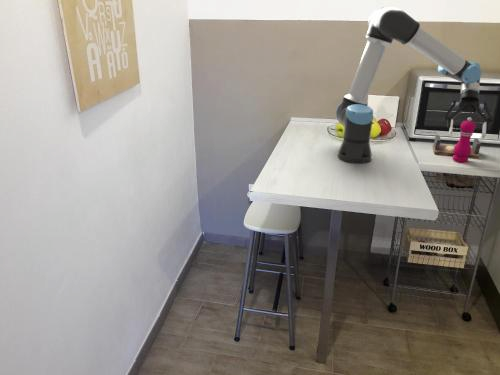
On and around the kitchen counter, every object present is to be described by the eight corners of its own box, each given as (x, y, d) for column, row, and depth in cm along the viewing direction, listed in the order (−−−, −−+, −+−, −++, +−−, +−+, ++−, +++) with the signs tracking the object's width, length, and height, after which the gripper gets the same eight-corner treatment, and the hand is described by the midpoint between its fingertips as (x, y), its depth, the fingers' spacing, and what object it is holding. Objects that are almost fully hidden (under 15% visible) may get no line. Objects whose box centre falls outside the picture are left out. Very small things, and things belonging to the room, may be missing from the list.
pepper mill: (470, 163, 179) (481, 119, 171) (453, 162, 181) (463, 119, 172) (466, 158, 186) (476, 115, 177) (449, 157, 187) (459, 114, 179)
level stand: (434, 154, 191) (436, 141, 188) (432, 146, 201) (434, 133, 198) (478, 158, 185) (482, 145, 182) (474, 150, 195) (477, 137, 193)
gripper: (497, 100, 183) (495, 142, 176) (438, 96, 190) (434, 136, 183) (503, 90, 176) (501, 133, 169) (442, 87, 183) (438, 128, 176)
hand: (467, 135), depth 176 cm, fingers open, 12 cm apart
